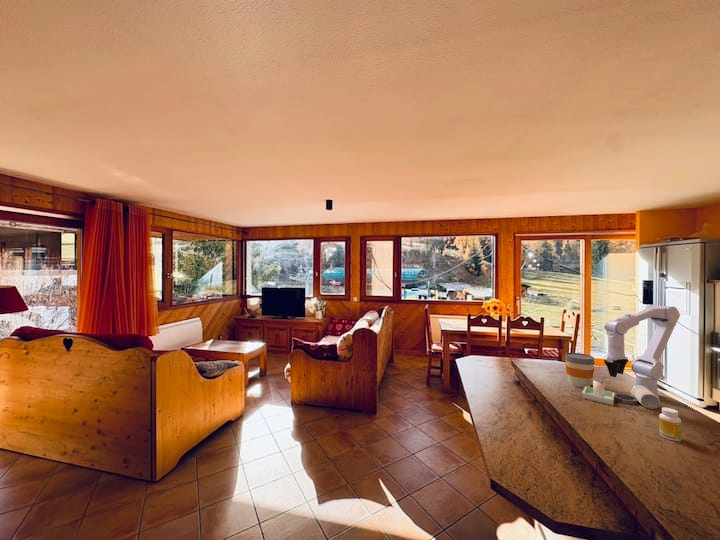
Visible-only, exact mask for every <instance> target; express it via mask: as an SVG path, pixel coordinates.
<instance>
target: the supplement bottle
mask: <svg viewBox="0 0 720 540" xmlns="http://www.w3.org/2000/svg"><path fill="white" fill-rule="evenodd" d="M661 412H662V413H660V414H659V415H658V417H659V418H658V419H659V420H658V421H659V422H658V423H659V427H658V428H659V429H658V432H659V435H660V436H661V438H662V437H663V438H664V439H667V440H670V441H674V442H681V441H682V438H683V437H682V419H681V418H680V417H679V411H678V410H676V409H674V408H672V407H671V408H669V407H661Z"/></svg>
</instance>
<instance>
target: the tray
mask: <svg viewBox="0 0 720 540" xmlns="http://www.w3.org/2000/svg"><path fill="white" fill-rule="evenodd" d="M615 393H616V392H614V391H609V390H605V389H604V397H600V396H596V395H593V386H592V387H591V386H590V387H588V386H585V388H583V390H582V391H581V399H583V400H584V399H585V400H588V401H592V402H597V403H601V404H604V405H608V406H614V403H615V401H616V400H615Z"/></svg>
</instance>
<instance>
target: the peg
mask: <svg viewBox="0 0 720 540" xmlns="http://www.w3.org/2000/svg"><path fill="white" fill-rule="evenodd" d="M592 385H593V386H592V388H593V395H596V396H600V397H604V390H605V382H604V381H603V380H601V379H598V378H594V379H593V381H592Z"/></svg>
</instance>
